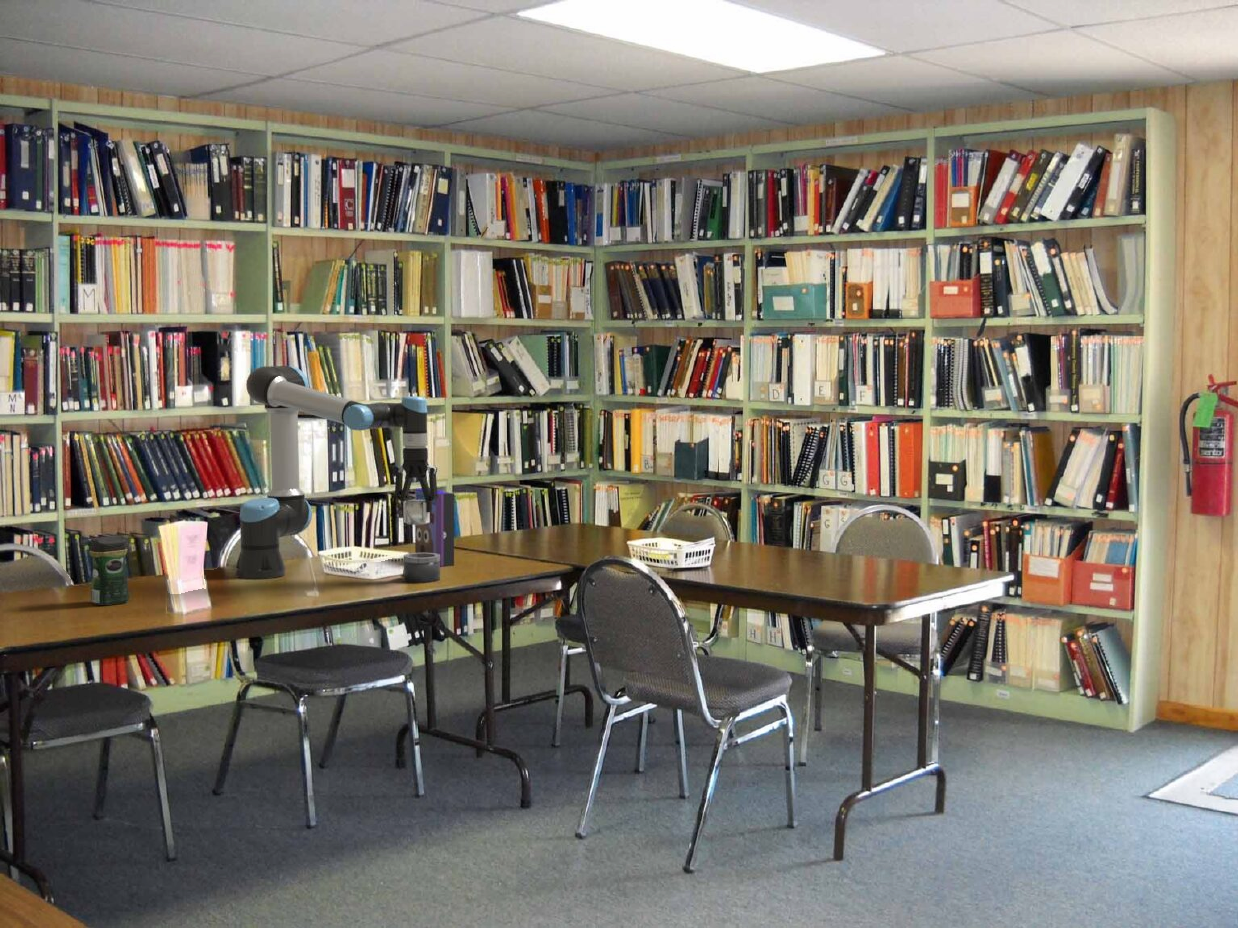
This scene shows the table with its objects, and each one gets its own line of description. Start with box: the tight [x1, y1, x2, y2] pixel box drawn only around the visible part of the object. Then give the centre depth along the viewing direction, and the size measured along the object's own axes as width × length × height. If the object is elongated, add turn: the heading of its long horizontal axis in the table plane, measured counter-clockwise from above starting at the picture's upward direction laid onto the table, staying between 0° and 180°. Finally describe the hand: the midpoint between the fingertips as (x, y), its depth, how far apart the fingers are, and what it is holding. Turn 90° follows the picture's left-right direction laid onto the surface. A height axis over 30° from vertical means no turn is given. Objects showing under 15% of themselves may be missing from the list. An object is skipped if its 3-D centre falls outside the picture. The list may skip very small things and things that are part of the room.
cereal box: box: [414, 488, 455, 568], centre depth 442 cm, size 17×5×24 cm, turn 37°
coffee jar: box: [89, 535, 130, 606], centre depth 369 cm, size 10×8×19 cm
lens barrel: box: [403, 552, 441, 584], centre depth 411 cm, size 11×11×8 cm
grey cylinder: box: [406, 499, 426, 526], centre depth 408 cm, size 6×6×7 cm
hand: (416, 522), depth 408 cm, fingers closed on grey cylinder, 6 cm apart
